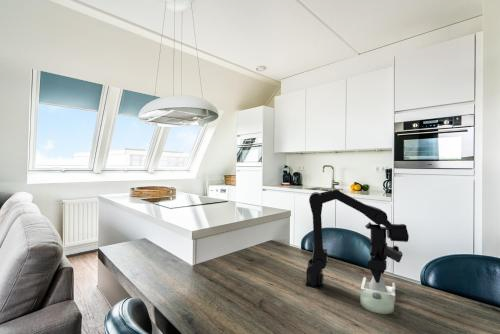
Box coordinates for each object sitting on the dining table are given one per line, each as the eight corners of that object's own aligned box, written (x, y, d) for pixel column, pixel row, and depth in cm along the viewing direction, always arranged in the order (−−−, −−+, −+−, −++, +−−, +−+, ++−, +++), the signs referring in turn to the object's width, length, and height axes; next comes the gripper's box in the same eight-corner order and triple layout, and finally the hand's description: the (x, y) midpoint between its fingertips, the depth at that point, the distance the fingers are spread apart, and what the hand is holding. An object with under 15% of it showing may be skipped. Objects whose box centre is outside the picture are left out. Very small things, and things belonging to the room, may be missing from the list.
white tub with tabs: (357, 308, 92) (357, 297, 92) (363, 282, 113) (363, 273, 113) (395, 317, 87) (395, 305, 87) (395, 288, 107) (394, 279, 107)
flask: (390, 295, 100) (390, 270, 100) (370, 293, 102) (370, 268, 101) (384, 286, 107) (384, 263, 107) (366, 285, 109) (366, 261, 109)
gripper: (401, 249, 92) (401, 292, 92) (400, 236, 108) (400, 273, 109) (367, 245, 98) (367, 285, 98) (371, 233, 114) (371, 268, 114)
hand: (378, 278), depth 104 cm, fingers open, 9 cm apart
